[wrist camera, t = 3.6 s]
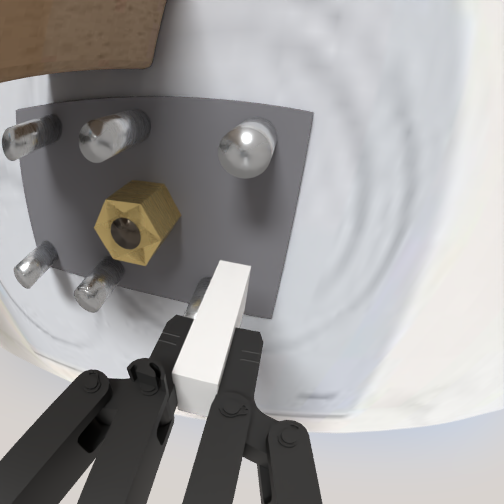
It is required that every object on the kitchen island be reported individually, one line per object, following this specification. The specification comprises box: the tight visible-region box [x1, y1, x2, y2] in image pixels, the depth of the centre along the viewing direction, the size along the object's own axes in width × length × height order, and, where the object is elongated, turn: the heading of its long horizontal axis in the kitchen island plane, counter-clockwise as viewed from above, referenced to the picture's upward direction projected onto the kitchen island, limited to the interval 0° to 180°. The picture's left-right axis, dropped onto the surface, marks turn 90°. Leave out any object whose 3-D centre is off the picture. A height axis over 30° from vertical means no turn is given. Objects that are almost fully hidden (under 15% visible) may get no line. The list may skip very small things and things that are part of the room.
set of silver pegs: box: [2, 109, 277, 319], centre depth 18 cm, size 21×14×4 cm
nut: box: [94, 180, 181, 266], centre depth 19 cm, size 5×4×4 cm
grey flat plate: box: [16, 97, 313, 319], centre depth 20 cm, size 24×16×1 cm, turn 83°
